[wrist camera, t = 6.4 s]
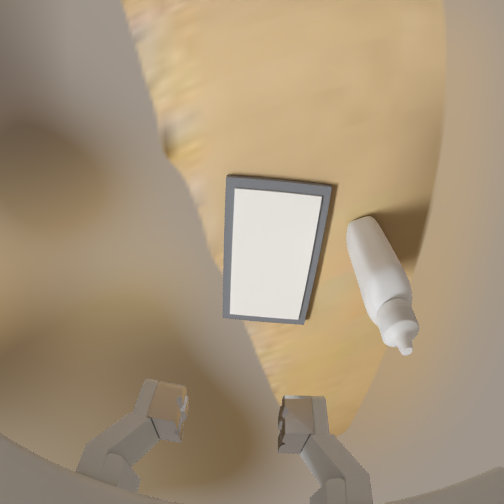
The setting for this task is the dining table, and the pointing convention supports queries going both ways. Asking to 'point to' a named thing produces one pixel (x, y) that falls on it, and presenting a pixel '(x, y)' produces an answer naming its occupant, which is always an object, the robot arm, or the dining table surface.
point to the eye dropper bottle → (382, 283)
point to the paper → (271, 251)
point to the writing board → (231, 184)
